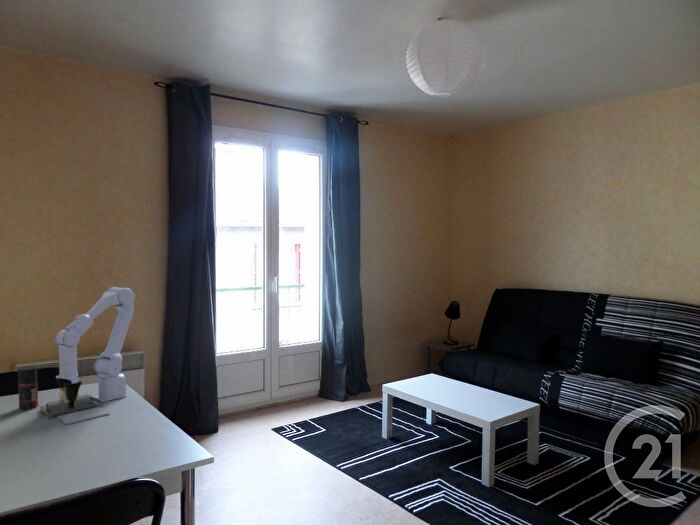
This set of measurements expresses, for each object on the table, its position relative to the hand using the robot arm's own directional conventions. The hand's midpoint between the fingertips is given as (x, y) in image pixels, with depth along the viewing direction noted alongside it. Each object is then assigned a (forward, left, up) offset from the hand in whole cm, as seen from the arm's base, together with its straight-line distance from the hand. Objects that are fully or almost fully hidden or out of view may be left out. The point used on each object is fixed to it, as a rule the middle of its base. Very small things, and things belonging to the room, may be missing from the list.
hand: (69, 398), depth 181 cm
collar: (0, 0, 0) cm, 0 cm away
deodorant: (+10, -13, -4) cm, 17 cm away
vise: (0, 0, -4) cm, 4 cm away
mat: (-1, +12, -4) cm, 13 cm away
